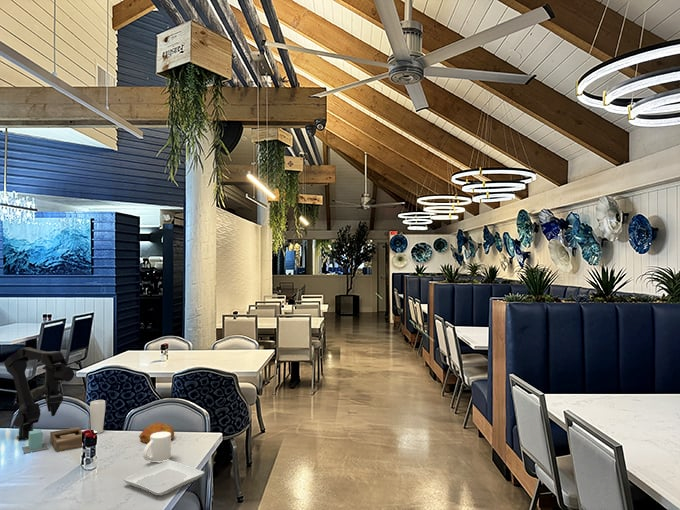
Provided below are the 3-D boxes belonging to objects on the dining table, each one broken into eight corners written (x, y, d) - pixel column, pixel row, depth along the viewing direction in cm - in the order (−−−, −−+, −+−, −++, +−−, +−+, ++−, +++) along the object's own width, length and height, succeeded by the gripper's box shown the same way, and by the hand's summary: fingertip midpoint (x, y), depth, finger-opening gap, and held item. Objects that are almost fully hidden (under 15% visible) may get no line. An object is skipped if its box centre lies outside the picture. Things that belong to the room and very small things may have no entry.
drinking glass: (98, 435, 231) (99, 403, 232) (85, 434, 233) (86, 402, 233) (107, 430, 238) (108, 400, 238) (95, 429, 239) (96, 399, 240)
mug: (175, 433, 204) (150, 441, 194) (174, 458, 204) (149, 467, 194) (163, 430, 209) (138, 437, 199) (162, 454, 208) (137, 463, 198)
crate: (50, 442, 221) (50, 431, 222) (79, 436, 229) (79, 426, 229) (56, 452, 209) (56, 441, 209) (86, 446, 217) (87, 436, 217)
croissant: (160, 436, 237) (159, 420, 238) (179, 438, 228) (179, 421, 229) (133, 444, 225) (132, 426, 227) (152, 446, 216) (151, 428, 218)
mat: (21, 447, 214) (21, 447, 214) (45, 443, 219) (45, 442, 219) (24, 454, 207) (24, 453, 207) (48, 449, 212) (48, 448, 212)
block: (40, 445, 216) (40, 429, 216) (41, 448, 213) (42, 432, 213) (28, 447, 213) (28, 431, 214) (29, 450, 210) (30, 434, 210)
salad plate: (158, 502, 166) (159, 492, 166) (121, 487, 177) (121, 477, 177) (205, 480, 184) (206, 471, 184) (169, 467, 195) (169, 459, 195)
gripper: (29, 378, 224) (27, 412, 224) (34, 385, 210) (33, 422, 209) (56, 375, 231) (55, 408, 231) (63, 382, 217) (62, 417, 216)
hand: (51, 413), depth 221 cm, fingers open, 9 cm apart
